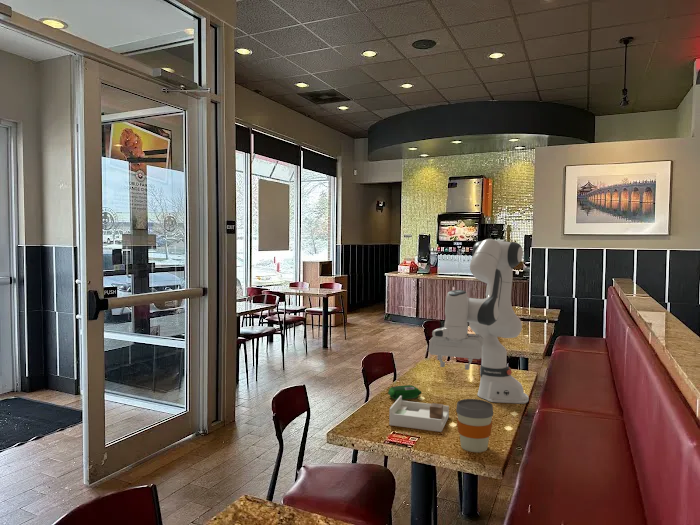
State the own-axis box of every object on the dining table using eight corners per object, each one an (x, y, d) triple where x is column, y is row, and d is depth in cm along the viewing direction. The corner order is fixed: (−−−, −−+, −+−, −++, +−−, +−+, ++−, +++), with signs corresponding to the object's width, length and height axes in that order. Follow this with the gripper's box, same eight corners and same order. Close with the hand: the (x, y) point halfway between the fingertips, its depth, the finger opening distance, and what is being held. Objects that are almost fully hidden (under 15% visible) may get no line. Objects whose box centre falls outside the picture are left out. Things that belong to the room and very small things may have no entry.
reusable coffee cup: (451, 440, 184) (452, 399, 183) (485, 439, 185) (486, 398, 184) (461, 454, 171) (462, 410, 171) (498, 454, 172) (498, 410, 171)
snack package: (423, 399, 231) (424, 387, 231) (391, 401, 227) (391, 390, 227) (417, 394, 238) (418, 383, 238) (385, 396, 234) (386, 385, 234)
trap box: (448, 416, 208) (448, 401, 208) (441, 431, 192) (441, 414, 191) (400, 410, 215) (400, 395, 214) (389, 425, 198) (389, 408, 198)
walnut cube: (443, 415, 202) (443, 404, 202) (441, 419, 198) (441, 407, 198) (431, 414, 204) (431, 403, 203) (429, 417, 199) (429, 406, 199)
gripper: (484, 333, 196) (483, 369, 197) (431, 329, 204) (430, 363, 204) (482, 336, 190) (481, 372, 191) (428, 331, 198) (427, 366, 198)
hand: (454, 368), depth 198 cm, fingers open, 8 cm apart
